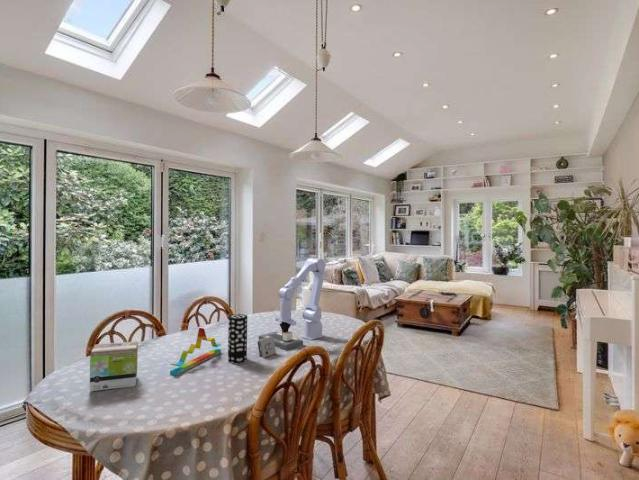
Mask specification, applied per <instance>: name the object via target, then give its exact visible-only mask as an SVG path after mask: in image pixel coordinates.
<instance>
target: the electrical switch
mask: <svg viewBox="0 0 639 480" xmlns="http://www.w3.org/2000/svg"><path fill="white" fill-rule="evenodd" d="M257 347H258V349H257V350H258V352H259V353H258V354H259V357H262V358H267V357H269V356H273V355H276V353H277V350H276V347H275V344H274V338H273V336H271V337H268V338H264V339H261V340H260V341H259V340H258V341H257Z"/></svg>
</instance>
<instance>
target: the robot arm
mask: <svg viewBox="0 0 639 480" xmlns="http://www.w3.org/2000/svg"><path fill="white" fill-rule="evenodd" d="M326 265H327V263H326V261H325V260H324V259H323V258H315V257H308V258H307V259H306V260H305V261H304V265H303V267H302V268H301V269H300V270H299V272H298V273H297V275H296V276H293V277H290V280H289V281H288V282H287V283H286V284H285V285H284V287H281V288H280V289H279V290H278V292H277V294H278V295H277V296H278V297H279V302H280V303H279V307H280V308H279V309H280V311H279V316H275V318H274V321H276V322H277V321H278V322H280V323H279V327H280V329H281V332H282V336H283V333H285V332H289V329H290V327H291V326H293V327H295V326H297V321H296V320H294V319H292V301H293V300H292V299H293V298H295V297H294V296H295V293H296V291H297V290H298V289H299V287H300V286H301V284H302V281H303V280H304V278H306V276H308V274H309V273H310V272H312V274H313V275H314V278H313V282H312V287H311V292H310V297H309V300H308V301H309V302H308V303H307V304H306V305H305V306H304V309H303V310H302V318H303V319H304V322H305V325H304V335H302V336H301V337H302V338H304V339H308V340H311V341H313V340H317V339H320V338H323V337H324V335H323V323H322V321H321V319H322V308H321V306H320V305H319V304H320V300H321V293H322V289H323V286H324V285H323V283H324V280H325V279H324V278H325V274H326V272H325V270H326Z"/></svg>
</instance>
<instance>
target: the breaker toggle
mask: <svg viewBox="0 0 639 480" xmlns="http://www.w3.org/2000/svg"><path fill="white" fill-rule="evenodd" d="M293 337H294V335H293V332H292V331H288V332H285V333H283V340H285V341H288V340H292V339H293Z"/></svg>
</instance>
